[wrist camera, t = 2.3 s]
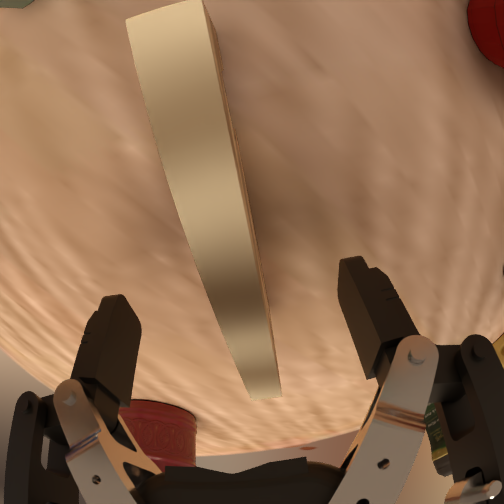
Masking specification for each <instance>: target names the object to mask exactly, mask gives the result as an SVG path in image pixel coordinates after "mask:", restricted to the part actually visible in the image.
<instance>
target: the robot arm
mask: <svg viewBox="0 0 504 504" xmlns="http://www.w3.org/2000/svg"><path fill="white" fill-rule="evenodd" d="M338 299H339V303H340V306H341V309H342V312H343V314H344V317H345V320H346V322H347V325H348V328H349V330H350V333H351V336H352V339H353V342H354V344H355V347H356V350H357V353H358V356H359V359H360V361H361V364H362V367H363V370H364V373H365V376H366V379H367V380H368V379H371V378H375V377H376V379H377V382H378V385H379V386H378V388H377V391H376V393H375V396H374V398H373V400H372V403H371V405H370V408H369V410H368V412H367V414H366V417H365V419H364V421H363V423H362V426H361V428H360V430H359V432H358V434H357V436H356V438H355V440H354V441H353V443H352V445H351V447H350V448H349V450H348V453H347V454H346V456H345V458H344V460H343V462H342V464H341V465H340V467H339V468H338V467H335V466H332V465H329V464H325V463H321V462H312V461H307V459H306V457H301V458H296V459H289V460H283V461H276V462H269V463H266V464H263V465H261V466H258V467H255V468H252V469H249V470H245V471H243V472H239V473H235V474H229V473H224V472H219V471H214V470H209V469H204V468H200V467H182V466H165V472H161V470H160V469H159V468H158V467H157V466H156V464H155V463H154V462H153V461H152V460H151V459H149V458H148V457H147V456H146V455H145V454H144V453H143V451H142V450H141V448H140V447H139V445H138V444H137V442H136V441H135V439H134V437H133V436H132V434H131V433H130V431H129V429H128V428H127V426H126V424H125V423H124V421H123V419H122V417H121V416H120V415H119V414H118V412H119V407H127V408H130V402H131V395H132V388H133V381H134V374H135V368H136V362H137V356H138V350H139V345H140V339H141V333H142V329H141V324H140V321H139V319H138V317H137V316H136V314H135V312H134V311H133V309H132V308H131V306H130V304H129V303H128V301H127V300H126V298H125V296H124V295H122V294H118V295H111V296H105V297H103V298H102V300H101V303H100V306H99V309H98V311H95V312H94V313H93V315H92V316H91V318H90V319H89V320H88V322H87V325H86V328H85V331H84V335H83V337H82V340H81V344H80V347H79V350H78V353H77V357H76V360H75V364H74V367H73V371H72V374H71V378H70V379H67V380H65V381H63V382H62V383H60V385H59V386H58V387H57V388H56V390H55V393H54V394H52V395H49V396H46V397H42V398H39V397H38V396H37V395H36V394H35V393H33V392H31V391H27V392H25V393H23V394H22V395H21V396H20V397H19V399H18V400H17V403H16V406H15V411H14V416H13V421H12V427H11V432H10V438H9V446H8V452H7V461H6V471H5V487H4V504H79V490H80V492H81V494H82V496H83V497H84V499H85V501H86V503H87V504H395V503H396V501H397V499H398V497H399V495H400V492H401V491H402V488H403V486H404V484H405V482H406V480H407V477H408V475H409V473H410V470H411V468H412V466H413V463H414V461H415V458H416V456H417V453H418V450H419V448H420V445H421V442H422V439H423V436H424V433H425V428H426V423H425V422H424V415H425V411H426V408H427V405H428V403H434V405H435V409H436V412H437V415H438V419H439V422H440V425H441V429H442V433H443V436H444V440H445V444H446V448H447V452H448V456H449V461H450V465H451V470H452V475H453V480H454V485H453V486H452V487H451V488H450V489H449V491H448V493H447V494H446V497H445V502H444V504H504V368H503V366H502V364H501V362H500V359H499V357H498V355H497V353H496V351H495V349H494V347H493V345H492V343H491V342H490V341H489V340H488V339H487V338H485V337H484V336H481V335H477V334H475V335H470V336H468V337H467V338H466V339H465V340H464V341H463V342H462V344H461V345H436V344H434V343H433V342H432V341H431V340H430V339H428V338H426V337H424V336H421V335H420V334H419V332H418V331H417V329H416V327H415V325H414V323H413V321H412V319H411V317H410V315H409V314H408V312H407V310H406V308H405V306H404V304H403V302H402V301H401V299H400V298H399V295H398V293H397V292H396V290H395V289H394V286H393V285H392V283H391V281H390V279H389V278H388V276H387V275H386V274H385V273H383V272H382V271H381V270H380V269H378V268H377V267H375V268H370V269H369V267H368V266H367V264H366V262H365V260H364V259H363V257H362V256H355V257H350V258H344V259H341V260H340V263H339V277H338ZM43 436H45V437H47V438H48V439H50V444H49V453H48V465H47V469H46V470H45V469H44V468H43V466H42V464H41V452H42V444H43Z"/></svg>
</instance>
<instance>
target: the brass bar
mask: <svg viewBox="0 0 504 504" xmlns="http://www.w3.org/2000/svg"><path fill="white" fill-rule="evenodd" d="M125 21H126V26H127V31H128V36H129V40H130V45H131V49H132V54H133V58H134V62H135V67H136V71H137V75H138V79H139V83H140V87H141V91H142V95H143V99H144V102H145V106H146V110H147V114H148V117H149V121H150V124H151V128H152V131H153V135H154V138H155V142H156V145H157V149H158V152H159V155H160V159H161V162H162V165H163V169H164V172H165V175H166V178H167V181H168V184H169V188H170V191H171V194H172V197H173V200H174V203H175V206H176V209H177V212H178V215H179V218H180V221H181V224H182V227H183V230H184V233H185V235H186V238H187V241H188V244H189V247H190V250H191V252H192V255H193V258H194V261H195V263H196V266H197V269H198V272H199V274H200V277H201V280H202V282H203V285H204V288H205V290H206V293H207V295H208V298H209V301H210V303H211V306H212V308H213V311H214V313H215V316H216V318H217V321H218V323H219V326H220V328H221V331H222V333H223V336H224V338H225V340H226V343H227V345H228V348H229V350H230V352H231V355H232V357H233V360H234V362H235V364H236V367H237V369H238V371H239V373H240V376H241V378H242V380H243V383H244V385H245V387H246V389H247V391H248V394H249V396H250V398H251V400H252V401H254V400H262V399H269V398H276V397H282V391H281V385H280V378H279V371H278V364H277V357H276V350H275V344H274V337H273V330H272V324H271V317H270V310H269V304H268V299H267V294H266V288H265V283H264V277H263V272H262V267H261V261H260V256H259V251H258V245H257V240H256V235H255V229H254V224H253V219H252V213H251V208H250V203H249V198H248V192H247V187H246V182H245V177H244V172H243V166H242V161H241V156H240V151H239V146H238V140H237V135H236V130H235V129H233V127H232V122H231V117H230V112H229V107H228V102H227V97H226V92H225V87H224V82H223V77H222V72H221V71H223V70H224V69H223V64H222V59H221V54H220V49H219V45H218V40H217V35H216V30H215V28H214V26H213V23H212V21H211V19H210V16H209V14H208V12H207V10H206V7H205V5H204V3H203V1H202V0H187V1H183V2H179V3H176V4H172V5H168V6H165V7H162V8H158V9H155V10H152V11H149V12H146V13H143V14H140V15H137V16H134V17H132V18H129V19H126V20H125Z"/></svg>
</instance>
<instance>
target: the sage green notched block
mask: <svg viewBox="0 0 504 504" xmlns="http://www.w3.org/2000/svg"><path fill="white" fill-rule="evenodd" d="M32 1H34V0H0V8H24V7H25V6H27V5H28V4H30V3H31V2H32Z"/></svg>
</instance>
